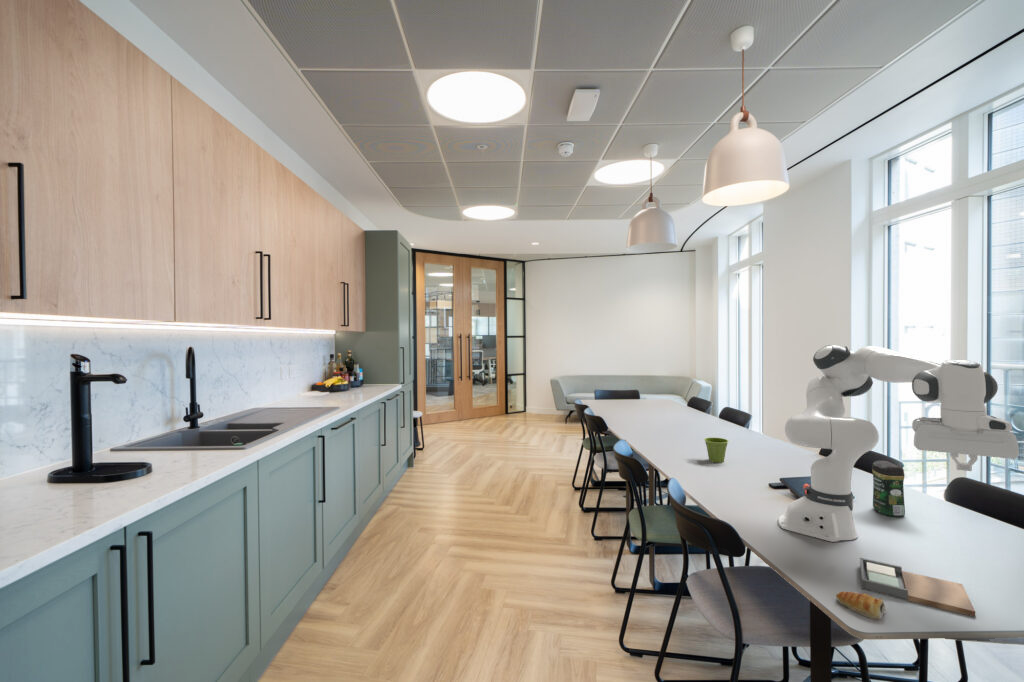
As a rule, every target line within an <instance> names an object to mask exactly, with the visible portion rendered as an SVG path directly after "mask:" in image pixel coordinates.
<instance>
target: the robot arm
mask: <svg viewBox="0 0 1024 682" xmlns="http://www.w3.org/2000/svg"><path fill="white" fill-rule="evenodd" d="M812 361H813V363H814V365H815V367H816V369H818V370H820V371H821V373H822V374H823V376H821V375H820V376H816V377H813V378H812V379H811V380H810V381H809V382H808V384H807V388H806V395H805V396H806V409H805V410H804V411H802V412H801V413H798V414H796V415H793V416H791V417H789V418H788V419H787V421H786V422H785V425H784V426H785V427H784V432H785V433H784V434H785V436H786V437H787V439H788V440H789V442H790V443H791V444H794V445H797V446H801V447H806V448H811V449H812V448H813V449H823V450H824V449H825V450H832V451H831V453H830V454H829V455H828V456H826V457H825V456H824V457H821V458H819V459H816V460H815V461H814V462H813V463H812V464H811V466H810V484H808V483H804V484H803V487H802V488H803V496H802V497H799V498H798V499H795V500H793V501H791V502H790V503H788V505H787V507H786V510H785V513H784V514H781V515H780V516H779V518H778V522H777V523H778V525H779V527H780V528H782V529H783V530H787V531H789V532H794V533H797V534H801V535H804V536H808V537H813V538H817V539H820V540H824V541H827V542H831V543H833V542H840V541H852V540H855V539H857V538H858V537H859V535H858V532H857V529H856V525H855V520H854V515H853V510H854V509H853V508H854V496H853V494H854V493H853V492H852V474H853V470H854V466H855V465H856V463H857V461H858V460H859V459H860V458H861V457H862V456H863V455H864V454H866V453H868V452H870V451H872V450H873V449H874V448H875V447H876V446H877V444H878V443H879V439H880V435H879V431H878V429H877V427H876V426H875V424H874V423H872V422H871V421H870V420H866V419H861V418H856V417H853V416H852V417H849V416H846V417H845V416H844V415H845V412H846V409H845V403H844V399H843V398H845V397H857V396H862V395H864V394H866V393H867V392H869V390H871V388H872V386H873V384H874V381H873V379H875V380H876V381H881V382H885V383H886V382H887V383H895V384H897V383H899V384H900V383H904V384H905V383H911V389H912V392H913V393H914V396H916V397H917V398H918V400H920V401H922V402H927V403H931V404H940V417H926V416H920V417H918V418H915V419H914V420H913V421H912V423H911V426H912V430H913V432H914V434H913V435H914V436H913V445H914V447H915V448H916V449H917V450H919V451H928V452H939V453H946V454H948V453H949V456H950V457H951V459H952V460H953V462H954V463H955V469H956V470H957V471H964V472H966V471H967V472H972V471H973V465H974V464H975V463H976V462H977V461H978V456H980V457H989V458H990V457H991V458H999V459H1012V460H1016V459H1017V458H1018V457H1019V456H1020V449H1019V443H1018V439H1017V437H1016V435H1015V434H1014V433H1013V432H1011V431H1012V430H1013V425H1012V423H1011V422H1009V421H1008V420H1006V419H1002V418H1000V417H996V416H994V415H988V414H987V408H986V405H985V404H987V403H988V402H990V401H991V400H992V399H993V398H994V397H995V396H996V395H997V393H998V389H999V386H998V382H997V381H996V379H995V378H994V377H993V376H992V374H990V373H989V372H987V371H986V370H985V369H984V368H983V367H982V364H980V363H978V362H976V361H972V360H966V359H947V360H944V361H942V363H936V362H933V361H928V360H925V359H921V358H918V357H915V356H911V355H908V354H905V353H902V352H898V351H895V350H893V349H890V348H886V347H883V346H877V345H867V346H863V347H861V348H859V349H857V350H856V351H851V349H850V347H848V346H841V345H837V344H836V345H834V344H833V345H832V344H829V345H825V346H822V347H821V348H820V349H818V350H817V351H816V352H815V354H814V355H813V358H812ZM872 378H873V379H872ZM959 455H966V456H967V455H968V458H969V460H968V461H967V462H959V460H958V459H957V458H959Z"/></svg>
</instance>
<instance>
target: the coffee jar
mask: <svg viewBox="0 0 1024 682" xmlns="http://www.w3.org/2000/svg"><path fill="white" fill-rule="evenodd" d="M871 468H872V469H871V471H872V478H873V479H872V481H873V482H872V484H873V486H872V487H873V488H872V490H873V491H872V508H873V509H874V510H875V511H877V512H878V513H881V514H882V515H884V516H889V517H890V516H891V517H896V518H899V517H904V516H905V515H906V507H905V495H904V494H905V492H904V481H905V469H904V468H903V467H901V466H898V465H896V464H894V463H892V462H890V461H888V460H875V461H874V462H873V463H872V467H871Z"/></svg>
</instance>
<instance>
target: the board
mask: <svg viewBox="0 0 1024 682" xmlns="http://www.w3.org/2000/svg"><path fill="white" fill-rule="evenodd" d="M902 579H903V582H904V586H905V589H907V590H908V600H907V601H909V602H913V603H917V604H921V605H925V606H930V607H934V608H937V609H941V610H945V611H946V610H947V611H949V612H954V613H957V612H958V613H957V614H962V615H966V616H970V617H974V618H976V610H975V608H974V606H973V604H972V602H971V600H970V598H969V595H968V594H967V591H966V589H965V587H964V585H963V583H959V582H954V581H950V580H945V579H941V578H936V577H931V576H928V575H921V574H917V573H913V572H909V571H904V570H902Z"/></svg>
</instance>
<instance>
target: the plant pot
mask: <svg viewBox="0 0 1024 682" xmlns="http://www.w3.org/2000/svg"><path fill="white" fill-rule="evenodd" d="M703 440H704V442H705V445H706V449H707V457H708V461H709V462H710V463H711V462H712V463H719V464H721V463H724V462H725V457H726V451H727V447H728V443H729V442H730V440H728V439H726V438H722V437H721V438H720V437H713V436H712V437H710V436H709V437H705V438H704V439H703Z"/></svg>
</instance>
